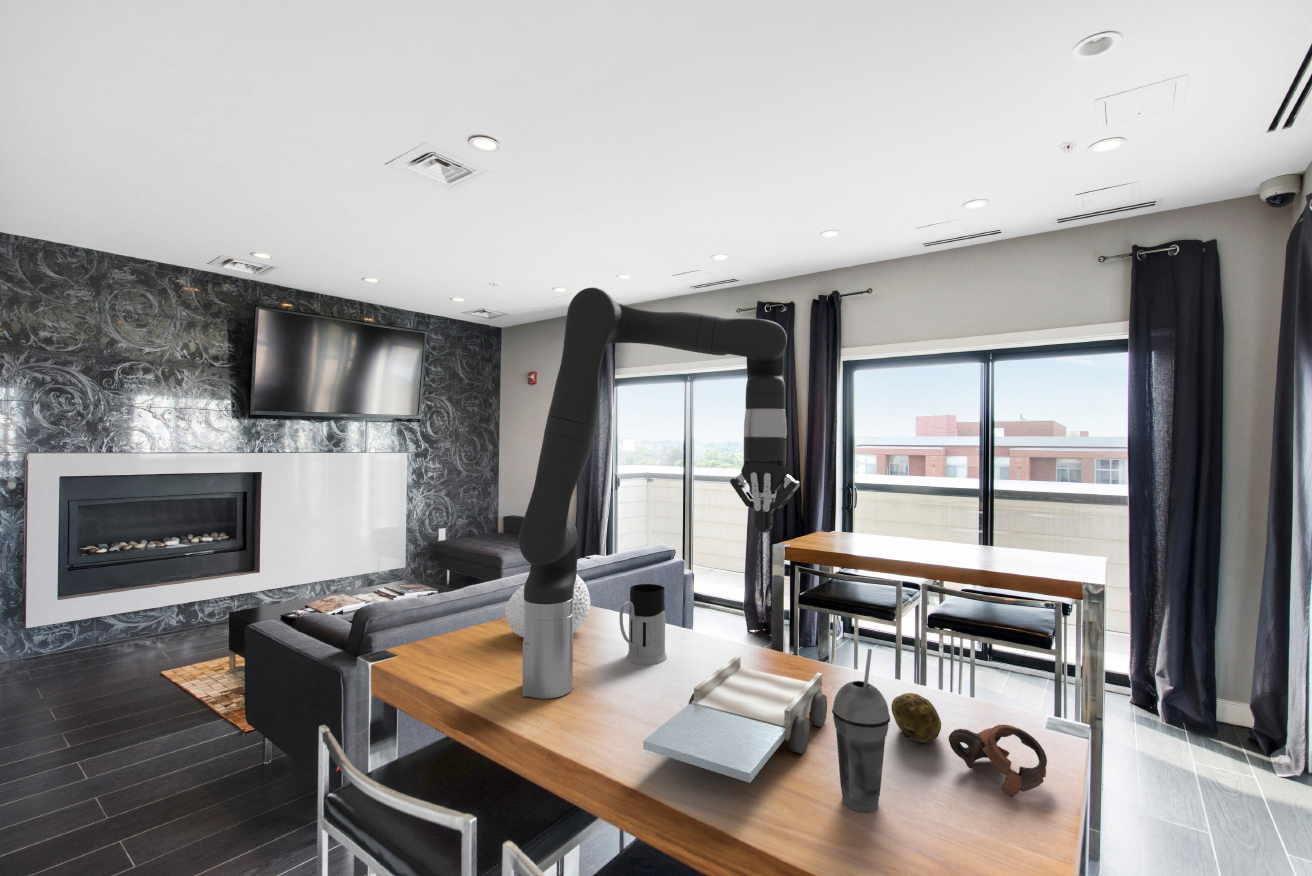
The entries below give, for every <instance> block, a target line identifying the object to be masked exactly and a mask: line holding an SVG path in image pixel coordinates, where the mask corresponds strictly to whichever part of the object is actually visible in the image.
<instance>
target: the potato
mask: <svg viewBox="0 0 1312 876" xmlns="http://www.w3.org/2000/svg"><path fill="white" fill-rule="evenodd" d="M890 708H891V713H892V716H893V718H894V720H895V721H894V722H895V723H896V725H897V728H899V729H900V731H901V732H900V734H901V735H902V737H904V738H906V739H908V740H913V741H915V742H916V743H930V742H933V741H935V740H936V739H937V738H938V736H939V735H940V732H941V729H942V721H941V719H940V716H939V713H938V711H937V709H936V708H935V706H934V705H933V703H932V702H931V701H930V700H928V699H927V698H925V697H924V696H922V695H920V694H918V693H913V692H906V693H902V694H901V695H899V696H896V697H894V699H893V700H892V703H891V707H890Z"/></svg>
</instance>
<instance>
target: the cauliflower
mask: <svg viewBox="0 0 1312 876" xmlns="http://www.w3.org/2000/svg"><path fill="white" fill-rule="evenodd" d="M524 585H525V583H524V584H523V585H522V586H521V587H518V589H517V590H515V592H514V593H513V594H512V595H511V597H509V600H508V601H507V604H505V608H504V609H505V612H504V614H505V616H506V617H505V620H507V624H508V625H509V627H510V629H511V630H512V631H513V633H514V634H515V635H517V636H518V637H519V638H522V639H524ZM591 602H592V601H591V596H590V592H589V589H588V587H587V585H586V583H585V582H584V580H583V578H581V577H580V576H579V574H577V575H576V581H575V585H574V591H573V634H574V632H575V631H578V629H579V628H581V627H582V626H583V625H584V624H585V623H586V621H587V620H588V616H589V614H590V609H591Z"/></svg>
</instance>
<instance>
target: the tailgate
mask: <svg viewBox="0 0 1312 876" xmlns="http://www.w3.org/2000/svg"><path fill="white" fill-rule="evenodd" d="M688 704H689V703H688ZM688 704H687V705H686V706H685V707H684V708H682V709H681V710H680V711H679V712H677V713H676V714H674V715H673V716H672V717H671V718H670V719H668V720H667V721H666V722H665V723H663V724H662V725H661V726H660V727H658V728H657V729H656V730H655V731H653V732H652V733H651V734H650V735H649V736H647V737H646V738H645V739H643V743H642V744H643V745H642V746H643V748H642V749H643V750H646V751H648V752H652V753H654V754H658V755H661V756H663V757H668V758H670V759H673V760H676V761H680V762H683V763H685V764H686V763H687V764H688V765H689V764H690V765H692V766H696V767H698V768H702V769H705V770H708V771H711V772H715V773H717V774H721V775H724V776H728V777H730V778H733V779H736V780H740V781H743V782H747V783H749V784H750V783H751V782H752V781H753V779H755V777H756V776H757V774H758V773H760V770H762V769H763V767H764V766H765V765H766V763H767V762H768V760H769V759H770V758H771V757H772V755H773V754H774V753H775V752H776V751H777V750H778V748H779V747H780V746H781V744H782V743H783V742H784V741H785V740H784V739H785V738H786V728H782V727H778V726H775V725H771V724H767V723H763V722H759V721H755V720H751V719H748V718H744V717H740V716H736V715H732V714H728V713H724V712H721V711H717V710H713V709H709V708H705V707H701V706H697V705H694V704H689V705H688Z"/></svg>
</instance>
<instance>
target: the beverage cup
mask: <svg viewBox="0 0 1312 876" xmlns="http://www.w3.org/2000/svg"><path fill="white" fill-rule="evenodd" d="M872 652H873V649H871V648H867V655H866V656H867V657H866V663H865V670H864V679H863V680H853V681H850V682H848V683H846V684H844V685H843V686H841V687H840V689H839V690H838V691H837V692H836V695H835V698H834V701H833V706H832V710H831V712H832V714H833V715H832V716H833V723H834V728H835V731H836V733H835V734H836V744H837V745H836V746H837V756H838V770H839V771H838V772H839V784H840V788H841V789H840V790H841V798H842V799H841V800H842V802H843V804H844V805H845V806H846V807H848V808H849V809H851V810H854V811H856V812H861V813H871V812H874V811H876V810H878V808H879V801H880V800H879V799H880V797H881V786H882V776H883V767H884V765H883V764H884V757H885V756H884V755H885V746H886V745H885V744H886V737H887V736H888V730H889V724H890V722H891V716H890V712H889V711H890V710H889V706H888V703H887V700H886V698H885V697H884V695H883V694H882V692H881V691H880V690H879V689H878V688H877V687H875V686H874V685H873V684H871V683H869V679H870V670H871V669H870V668H871V661H872Z"/></svg>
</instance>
